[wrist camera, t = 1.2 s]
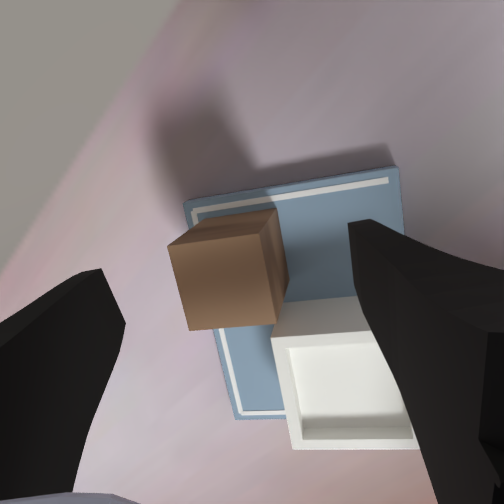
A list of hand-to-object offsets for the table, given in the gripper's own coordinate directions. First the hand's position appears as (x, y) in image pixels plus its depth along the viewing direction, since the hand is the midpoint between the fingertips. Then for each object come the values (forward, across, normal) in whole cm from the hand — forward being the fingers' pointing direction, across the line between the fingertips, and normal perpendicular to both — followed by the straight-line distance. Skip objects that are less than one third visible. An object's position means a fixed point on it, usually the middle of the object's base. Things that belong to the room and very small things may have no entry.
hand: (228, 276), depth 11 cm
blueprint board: (+9, -2, +8) cm, 12 cm away
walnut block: (+9, 0, +4) cm, 10 cm away
